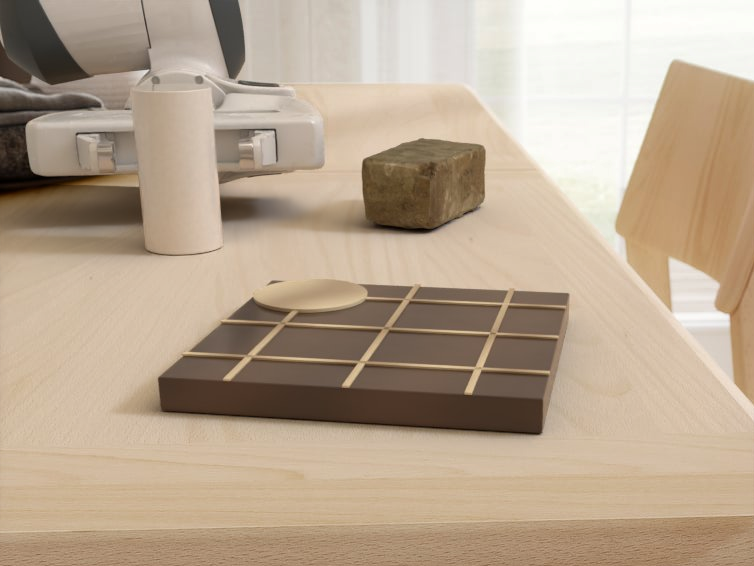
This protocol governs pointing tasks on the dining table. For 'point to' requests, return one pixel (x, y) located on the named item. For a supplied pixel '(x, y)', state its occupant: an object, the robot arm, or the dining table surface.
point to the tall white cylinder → (177, 167)
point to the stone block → (423, 183)
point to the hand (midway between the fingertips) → (176, 158)
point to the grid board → (378, 356)
